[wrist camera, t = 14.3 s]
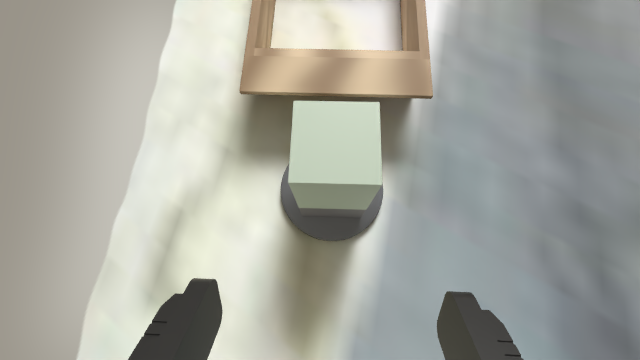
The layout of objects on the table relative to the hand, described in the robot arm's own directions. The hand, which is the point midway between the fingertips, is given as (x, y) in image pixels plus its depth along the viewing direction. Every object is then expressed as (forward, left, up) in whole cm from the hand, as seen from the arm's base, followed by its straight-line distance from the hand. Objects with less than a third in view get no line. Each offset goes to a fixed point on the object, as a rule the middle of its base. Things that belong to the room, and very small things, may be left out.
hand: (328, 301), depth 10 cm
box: (0, -8, -14) cm, 16 cm away
